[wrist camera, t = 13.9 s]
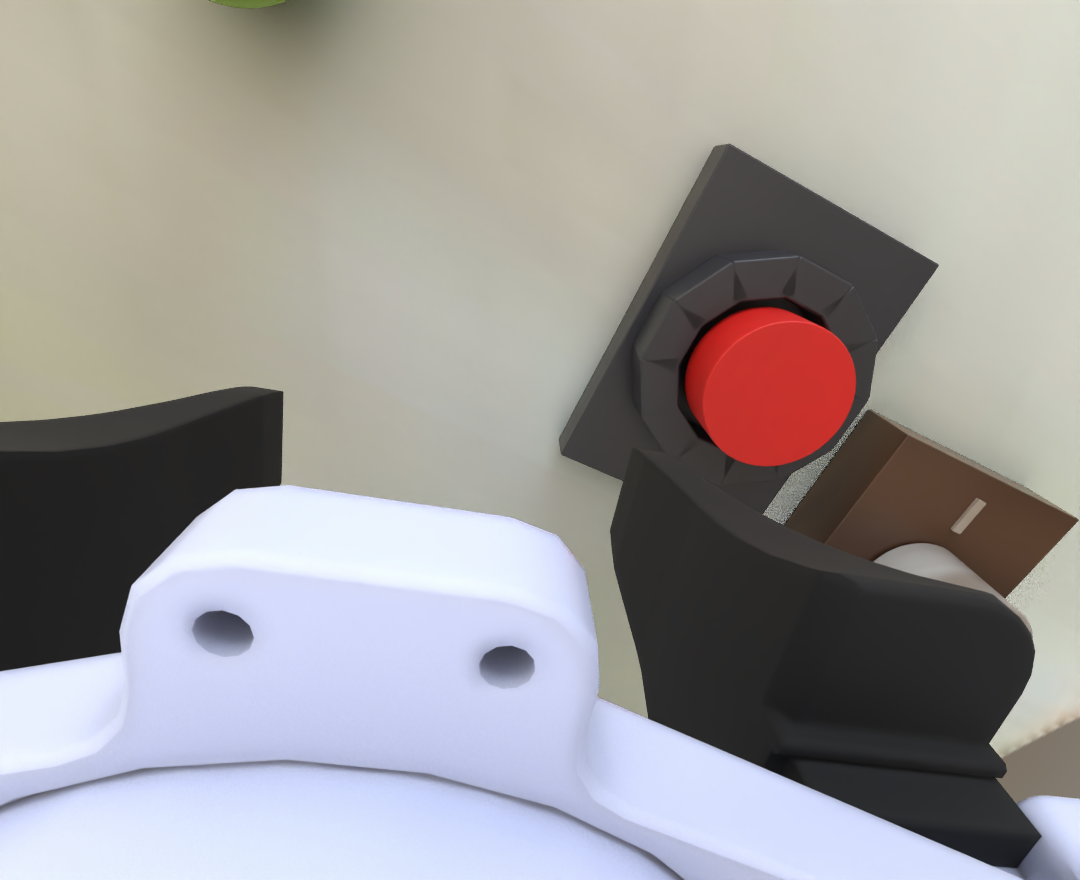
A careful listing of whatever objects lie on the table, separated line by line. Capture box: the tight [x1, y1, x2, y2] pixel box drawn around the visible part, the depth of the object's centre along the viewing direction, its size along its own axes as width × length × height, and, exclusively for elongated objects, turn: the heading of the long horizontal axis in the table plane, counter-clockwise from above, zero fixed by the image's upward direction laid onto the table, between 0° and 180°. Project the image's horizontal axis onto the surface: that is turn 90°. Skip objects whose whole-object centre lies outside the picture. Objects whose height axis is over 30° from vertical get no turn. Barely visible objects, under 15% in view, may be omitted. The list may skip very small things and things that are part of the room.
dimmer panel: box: [784, 410, 1078, 598], centre depth 24 cm, size 10×8×3 cm
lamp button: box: [685, 307, 856, 466], centre depth 18 cm, size 4×4×2 cm
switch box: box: [559, 144, 939, 514], centre depth 20 cm, size 11×8×3 cm
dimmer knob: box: [873, 543, 1033, 637], centre depth 21 cm, size 4×4×4 cm
